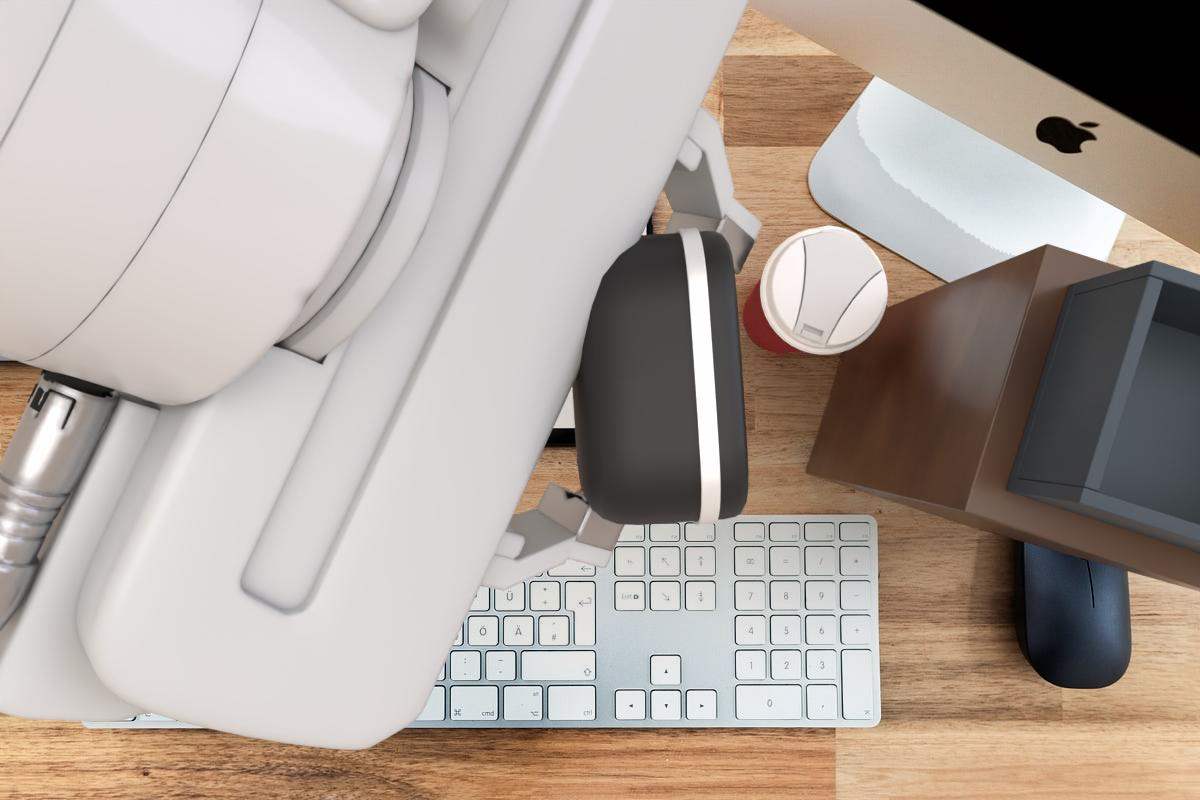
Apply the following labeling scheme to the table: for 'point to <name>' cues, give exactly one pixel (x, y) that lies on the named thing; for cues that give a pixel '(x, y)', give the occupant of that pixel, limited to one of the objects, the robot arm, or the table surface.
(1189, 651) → the table surface
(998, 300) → the stand
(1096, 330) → the bin
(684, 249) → the battery charger
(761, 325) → the paper cup
